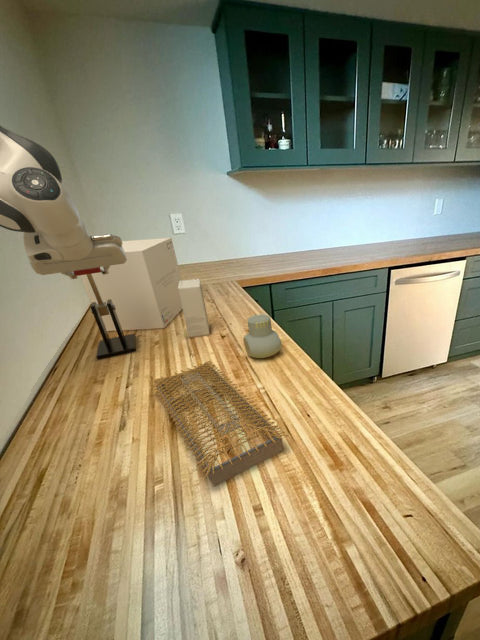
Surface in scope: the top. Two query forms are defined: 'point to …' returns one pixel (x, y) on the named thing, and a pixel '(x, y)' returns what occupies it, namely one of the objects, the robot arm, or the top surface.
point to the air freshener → (261, 337)
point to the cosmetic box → (194, 307)
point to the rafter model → (206, 394)
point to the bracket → (112, 345)
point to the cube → (141, 286)
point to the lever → (94, 288)
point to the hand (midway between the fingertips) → (90, 274)
